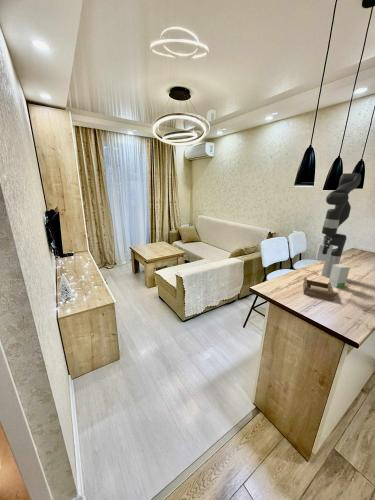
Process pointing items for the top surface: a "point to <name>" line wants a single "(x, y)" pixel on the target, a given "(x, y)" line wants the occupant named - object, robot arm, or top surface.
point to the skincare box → (339, 275)
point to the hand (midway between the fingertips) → (324, 253)
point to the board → (323, 256)
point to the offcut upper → (319, 288)
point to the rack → (317, 293)
